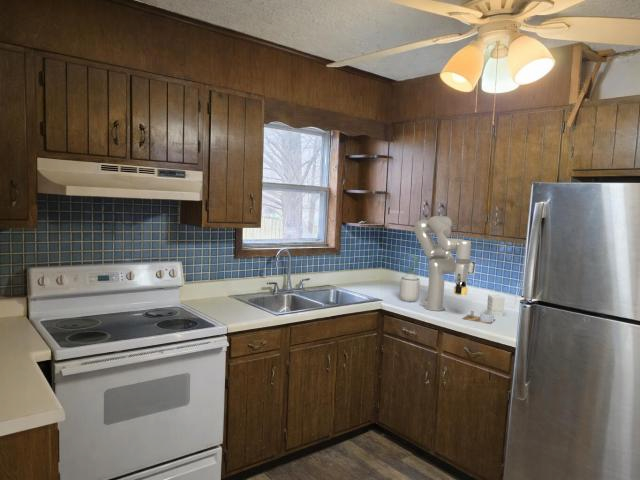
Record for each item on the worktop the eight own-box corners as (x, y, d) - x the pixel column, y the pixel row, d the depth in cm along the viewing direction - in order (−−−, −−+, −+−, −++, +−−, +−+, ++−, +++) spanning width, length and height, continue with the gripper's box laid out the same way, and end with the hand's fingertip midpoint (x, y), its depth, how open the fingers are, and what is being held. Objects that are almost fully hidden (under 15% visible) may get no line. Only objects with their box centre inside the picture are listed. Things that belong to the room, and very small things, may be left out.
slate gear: (480, 321, 263) (481, 314, 262) (478, 318, 270) (479, 311, 269) (494, 322, 262) (494, 315, 261) (491, 319, 269) (492, 312, 268)
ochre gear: (452, 293, 268) (452, 287, 268) (456, 292, 274) (456, 285, 273) (464, 295, 264) (465, 288, 264) (468, 294, 270) (469, 287, 269)
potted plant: (404, 297, 322) (407, 252, 319) (421, 300, 315) (424, 254, 312) (396, 300, 312) (399, 254, 309) (413, 303, 305) (417, 256, 302)
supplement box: (498, 315, 284) (499, 295, 283) (503, 318, 277) (505, 297, 276) (486, 315, 284) (487, 294, 283) (490, 318, 277) (492, 297, 276)
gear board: (461, 321, 267) (462, 309, 266) (467, 316, 278) (468, 305, 277) (490, 326, 258) (491, 314, 258) (495, 321, 269) (496, 310, 269)
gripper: (461, 259, 277) (458, 289, 278) (451, 262, 262) (449, 293, 264) (473, 261, 272) (471, 291, 274) (464, 263, 258) (462, 295, 260)
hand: (460, 292), depth 269 cm, fingers closed on ochre gear, 7 cm apart
